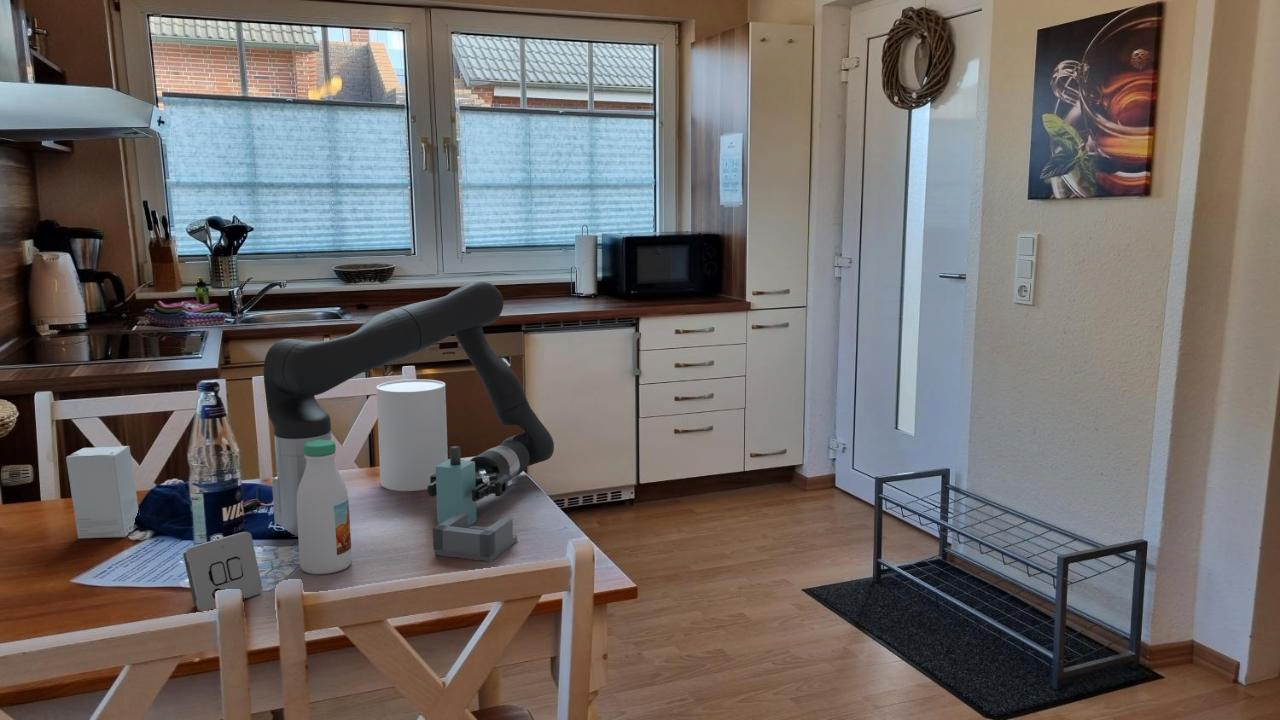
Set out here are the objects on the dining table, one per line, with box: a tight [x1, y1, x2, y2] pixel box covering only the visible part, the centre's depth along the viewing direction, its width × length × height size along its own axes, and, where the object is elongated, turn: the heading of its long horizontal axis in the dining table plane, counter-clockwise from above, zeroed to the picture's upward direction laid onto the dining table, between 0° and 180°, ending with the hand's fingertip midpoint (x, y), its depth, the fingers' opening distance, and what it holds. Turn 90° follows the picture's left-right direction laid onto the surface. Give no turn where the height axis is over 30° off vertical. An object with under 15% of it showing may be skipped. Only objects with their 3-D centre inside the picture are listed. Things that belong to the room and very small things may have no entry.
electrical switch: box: [182, 531, 263, 612], centre depth 135 cm, size 9×5×9 cm, turn 141°
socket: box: [432, 512, 518, 563], centre depth 155 cm, size 10×10×4 cm
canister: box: [375, 378, 449, 492], centre depth 191 cm, size 14×14×20 cm
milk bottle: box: [297, 439, 353, 575], centre depth 146 cm, size 8×8×20 cm
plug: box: [436, 445, 477, 527], centre depth 166 cm, size 5×5×14 cm
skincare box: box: [65, 445, 140, 539], centre depth 161 cm, size 8×6×15 cm
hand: (451, 493), depth 165 cm, fingers open, 8 cm apart
